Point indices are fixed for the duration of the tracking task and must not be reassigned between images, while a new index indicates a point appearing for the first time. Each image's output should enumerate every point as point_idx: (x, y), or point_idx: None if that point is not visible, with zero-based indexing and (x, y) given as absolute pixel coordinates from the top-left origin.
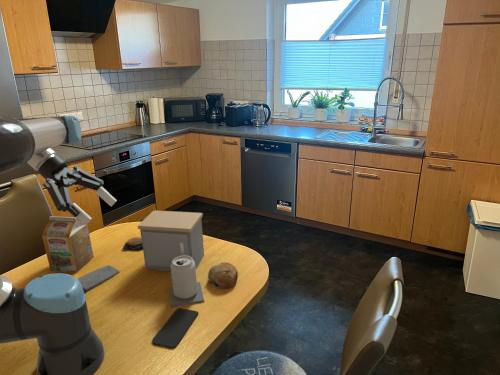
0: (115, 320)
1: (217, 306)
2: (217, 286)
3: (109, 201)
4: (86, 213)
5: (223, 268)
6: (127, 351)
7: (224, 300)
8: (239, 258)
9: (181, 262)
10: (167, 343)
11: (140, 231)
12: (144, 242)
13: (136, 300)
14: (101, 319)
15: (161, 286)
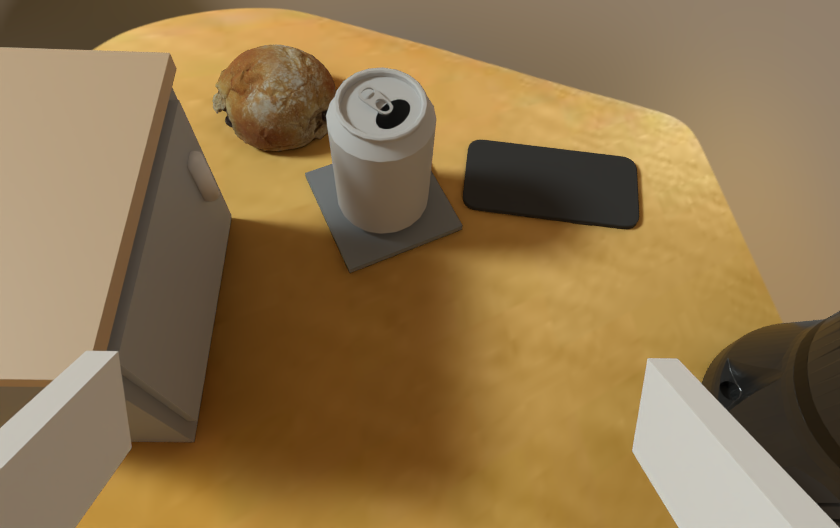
0: (576, 395)
1: None
2: None
3: (98, 445)
4: (685, 403)
5: (290, 59)
6: (690, 282)
7: None
8: None
9: (390, 105)
10: (627, 180)
11: None
12: (149, 379)
13: (445, 371)
14: (586, 456)
15: (338, 309)
